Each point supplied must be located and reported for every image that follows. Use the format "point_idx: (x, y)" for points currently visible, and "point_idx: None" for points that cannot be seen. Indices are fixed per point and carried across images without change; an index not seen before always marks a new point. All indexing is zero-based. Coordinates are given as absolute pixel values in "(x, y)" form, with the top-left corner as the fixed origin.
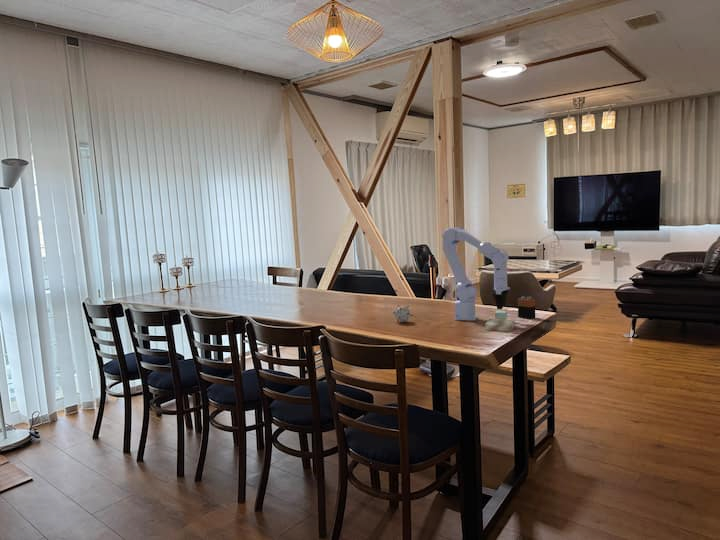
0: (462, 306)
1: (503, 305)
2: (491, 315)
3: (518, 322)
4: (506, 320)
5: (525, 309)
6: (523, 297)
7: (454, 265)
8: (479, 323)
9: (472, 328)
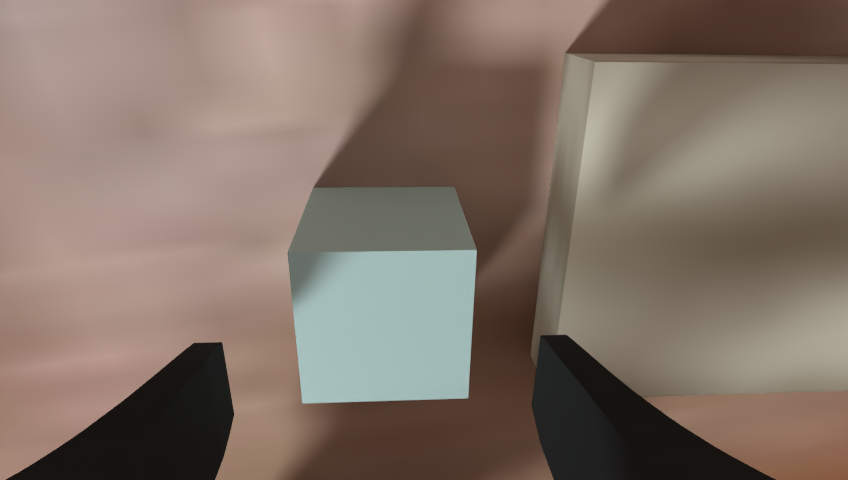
0: None
1: (222, 366)
2: (11, 411)
3: (339, 16)
4: (639, 181)
5: None
6: None
7: None
8: (491, 445)
9: None
